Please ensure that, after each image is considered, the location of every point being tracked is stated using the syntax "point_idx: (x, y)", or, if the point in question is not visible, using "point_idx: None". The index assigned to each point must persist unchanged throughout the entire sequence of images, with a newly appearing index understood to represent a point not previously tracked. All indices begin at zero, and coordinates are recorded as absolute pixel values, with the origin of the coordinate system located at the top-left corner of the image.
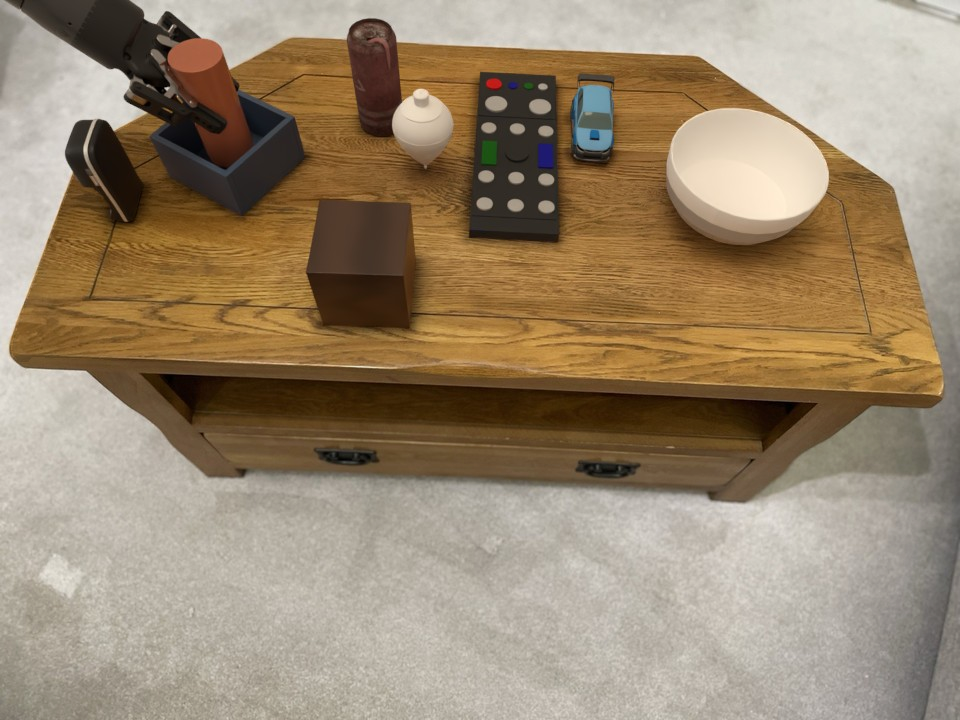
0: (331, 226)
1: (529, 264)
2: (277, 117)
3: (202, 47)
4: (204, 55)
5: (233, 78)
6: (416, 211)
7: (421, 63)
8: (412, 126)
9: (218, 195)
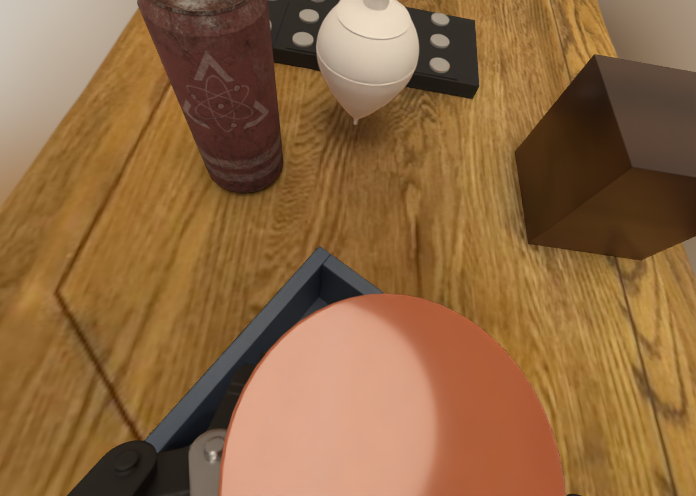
0: (684, 152)
1: (501, 58)
2: (302, 290)
3: (328, 416)
4: (401, 394)
5: (238, 369)
6: (434, 143)
7: (107, 101)
8: (410, 38)
9: None
